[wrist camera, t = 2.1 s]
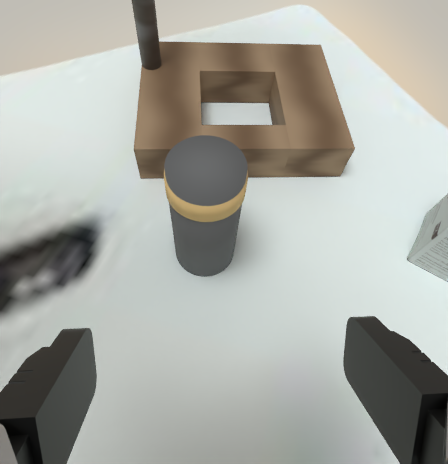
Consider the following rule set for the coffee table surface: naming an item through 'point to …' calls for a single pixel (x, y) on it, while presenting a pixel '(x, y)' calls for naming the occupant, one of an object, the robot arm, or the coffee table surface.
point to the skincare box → (433, 242)
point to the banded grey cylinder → (205, 201)
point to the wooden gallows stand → (239, 90)
